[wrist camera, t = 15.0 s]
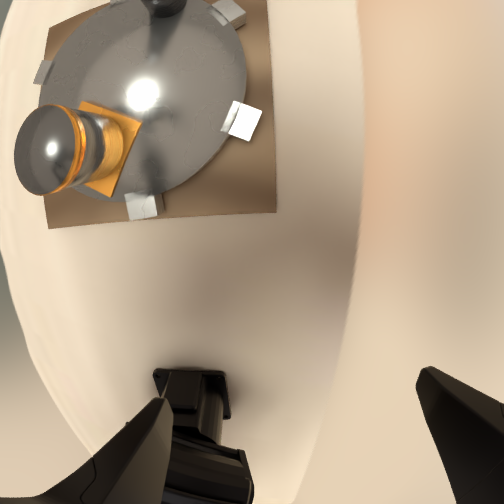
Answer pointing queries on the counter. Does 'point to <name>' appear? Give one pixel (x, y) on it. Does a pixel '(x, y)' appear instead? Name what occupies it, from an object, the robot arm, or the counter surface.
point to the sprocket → (155, 91)
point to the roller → (65, 148)
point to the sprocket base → (219, 168)
